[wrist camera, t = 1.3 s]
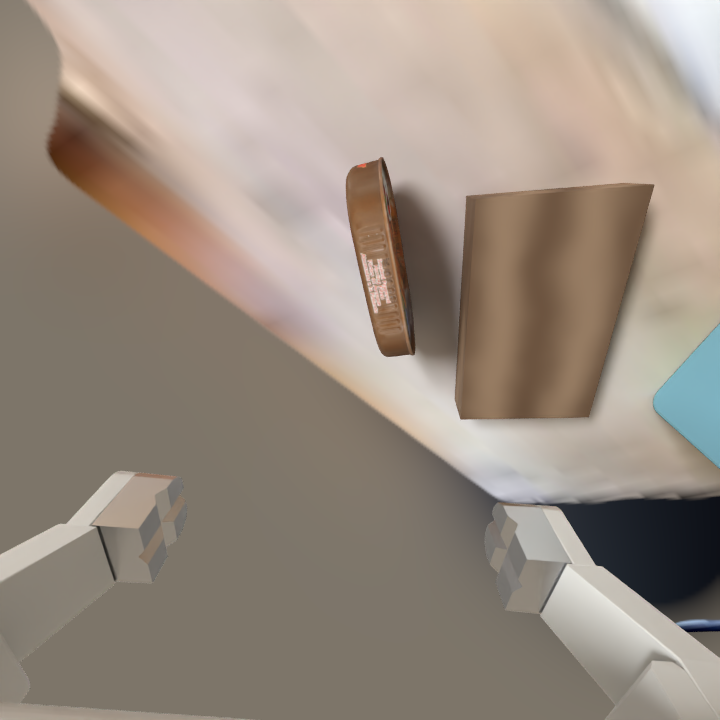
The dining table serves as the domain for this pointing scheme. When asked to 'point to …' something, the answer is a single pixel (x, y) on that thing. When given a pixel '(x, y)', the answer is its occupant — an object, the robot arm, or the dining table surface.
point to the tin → (380, 257)
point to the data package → (695, 398)
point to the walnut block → (542, 297)
